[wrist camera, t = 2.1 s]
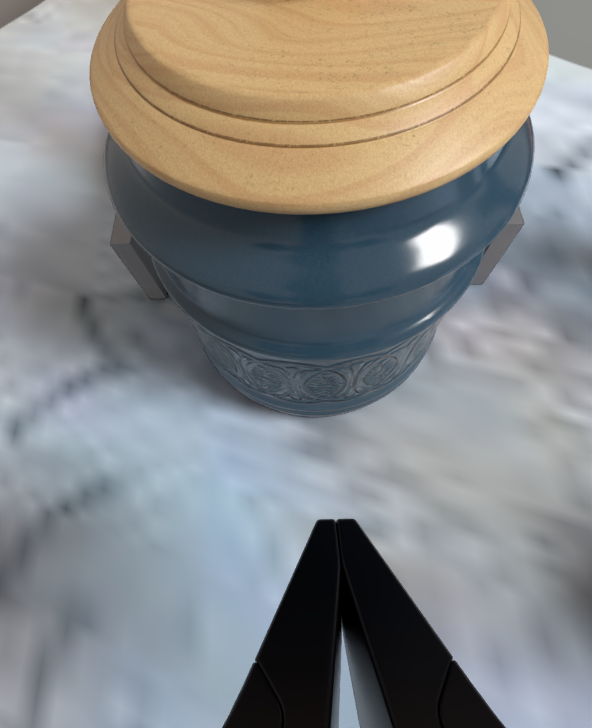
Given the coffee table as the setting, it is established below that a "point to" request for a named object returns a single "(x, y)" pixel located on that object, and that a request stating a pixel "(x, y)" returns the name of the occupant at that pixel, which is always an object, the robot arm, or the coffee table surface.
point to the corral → (153, 287)
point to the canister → (317, 174)
